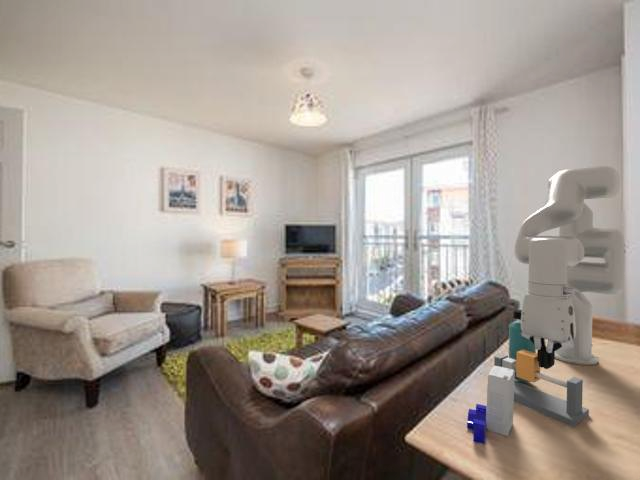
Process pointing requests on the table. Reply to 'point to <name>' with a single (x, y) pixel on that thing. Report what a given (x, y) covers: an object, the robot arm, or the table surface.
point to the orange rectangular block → (527, 365)
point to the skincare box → (500, 400)
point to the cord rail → (549, 396)
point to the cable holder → (477, 423)
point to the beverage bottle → (518, 340)
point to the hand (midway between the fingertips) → (545, 366)
